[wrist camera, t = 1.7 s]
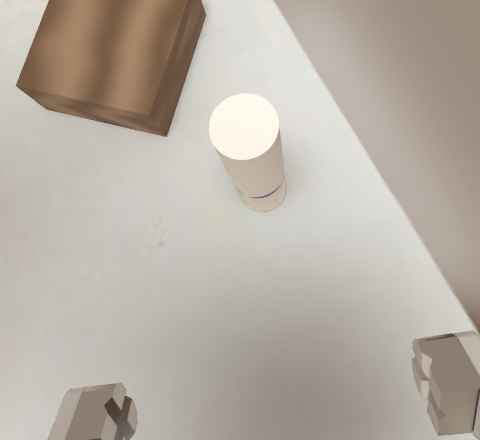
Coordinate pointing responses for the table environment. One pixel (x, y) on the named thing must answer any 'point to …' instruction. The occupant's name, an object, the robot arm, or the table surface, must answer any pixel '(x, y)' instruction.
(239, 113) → the tube
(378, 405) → the table surface
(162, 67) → the walnut stand
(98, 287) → the table surface
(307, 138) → the table surface
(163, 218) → the table surface
